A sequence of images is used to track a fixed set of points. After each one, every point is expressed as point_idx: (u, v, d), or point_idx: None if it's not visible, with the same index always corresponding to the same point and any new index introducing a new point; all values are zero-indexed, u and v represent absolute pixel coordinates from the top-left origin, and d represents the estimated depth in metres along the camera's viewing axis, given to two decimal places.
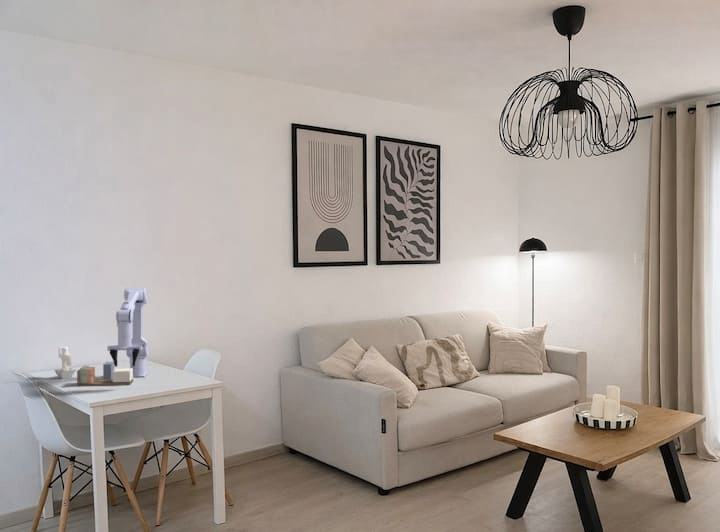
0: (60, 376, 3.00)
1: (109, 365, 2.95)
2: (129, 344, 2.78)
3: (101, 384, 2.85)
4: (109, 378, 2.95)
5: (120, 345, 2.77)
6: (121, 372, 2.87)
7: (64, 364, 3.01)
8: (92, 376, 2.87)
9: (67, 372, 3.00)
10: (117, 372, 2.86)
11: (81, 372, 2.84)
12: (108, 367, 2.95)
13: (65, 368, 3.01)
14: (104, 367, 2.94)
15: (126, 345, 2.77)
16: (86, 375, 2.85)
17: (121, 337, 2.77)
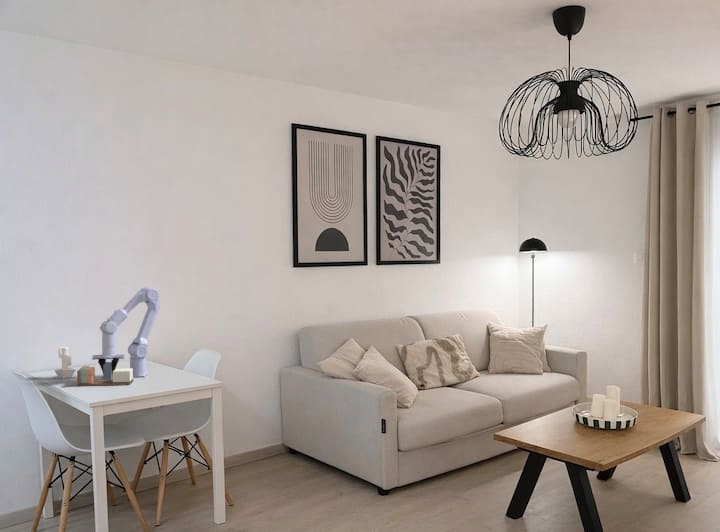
0: (60, 376, 3.00)
1: (109, 365, 2.95)
2: (113, 353, 2.96)
3: (101, 384, 2.85)
4: (109, 378, 2.95)
5: (104, 354, 2.95)
6: (121, 372, 2.87)
7: (64, 364, 3.01)
8: (92, 376, 2.87)
9: (67, 372, 3.00)
10: (117, 372, 2.86)
11: (81, 372, 2.84)
12: (108, 367, 2.95)
13: (65, 368, 3.01)
14: (104, 367, 2.94)
15: (110, 354, 2.95)
16: (86, 375, 2.85)
17: (105, 347, 2.95)
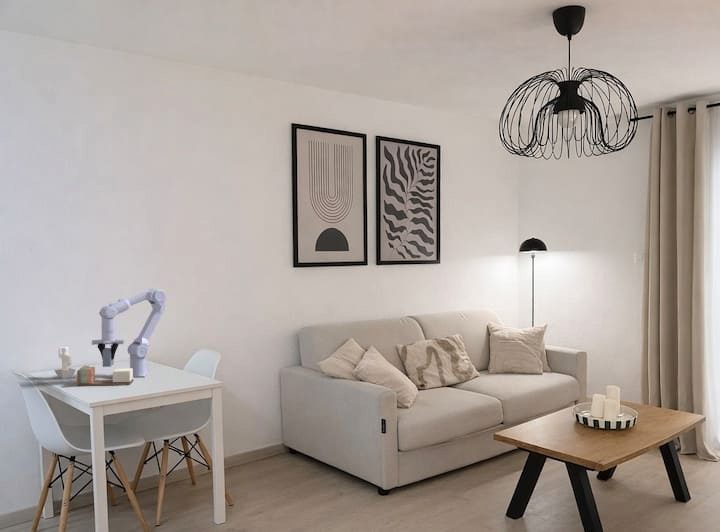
0: (60, 376, 3.00)
1: (108, 351, 2.94)
2: (112, 338, 2.95)
3: (101, 384, 2.85)
4: (108, 364, 2.94)
5: (103, 339, 2.94)
6: (121, 372, 2.87)
7: (64, 364, 3.01)
8: (92, 376, 2.87)
9: (67, 372, 3.00)
10: (117, 372, 2.86)
11: (81, 372, 2.84)
12: (107, 353, 2.94)
13: (65, 368, 3.01)
14: (103, 353, 2.93)
15: (109, 339, 2.94)
16: (86, 375, 2.85)
17: (105, 332, 2.94)
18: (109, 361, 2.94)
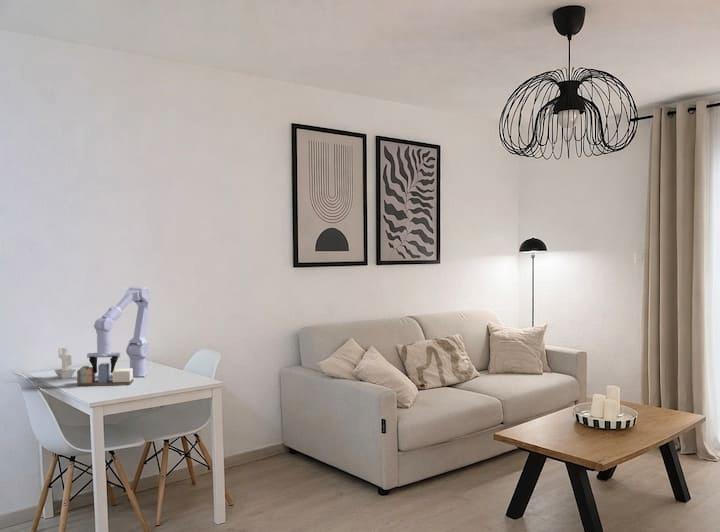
0: (60, 376, 3.00)
1: (104, 366, 2.86)
2: (108, 351, 2.87)
3: (101, 384, 2.85)
4: (104, 380, 2.86)
5: (99, 352, 2.86)
6: (121, 372, 2.87)
7: (64, 364, 3.01)
8: (92, 376, 2.87)
9: (67, 372, 3.00)
10: (117, 372, 2.86)
11: (81, 372, 2.84)
12: (103, 368, 2.86)
13: (65, 368, 3.01)
14: (99, 368, 2.86)
15: (105, 352, 2.86)
16: (86, 375, 2.85)
17: (100, 344, 2.86)
18: (105, 377, 2.86)
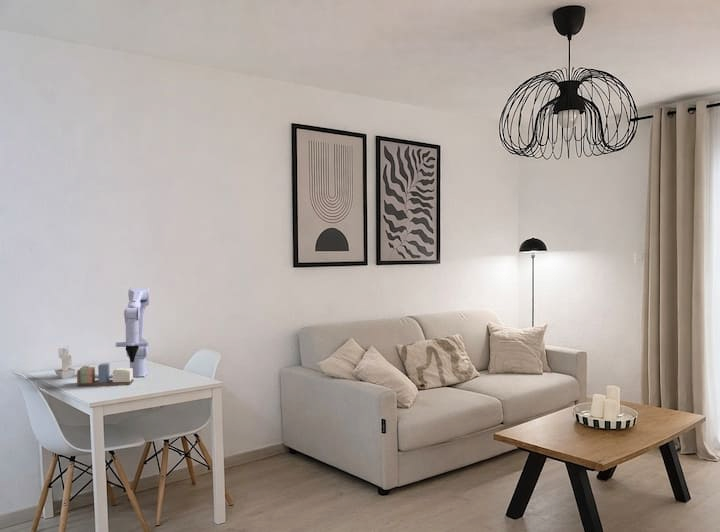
0: (60, 376, 3.00)
1: (104, 366, 2.86)
2: (136, 341, 2.89)
3: (101, 384, 2.85)
4: (104, 380, 2.86)
5: (128, 342, 2.88)
6: (121, 372, 2.87)
7: (64, 364, 3.01)
8: (92, 376, 2.87)
9: (67, 372, 3.00)
10: (117, 372, 2.86)
11: (81, 372, 2.84)
12: (103, 368, 2.86)
13: (65, 368, 3.01)
14: (99, 368, 2.86)
15: (133, 342, 2.88)
16: (86, 375, 2.85)
17: (129, 334, 2.87)
18: (105, 377, 2.86)
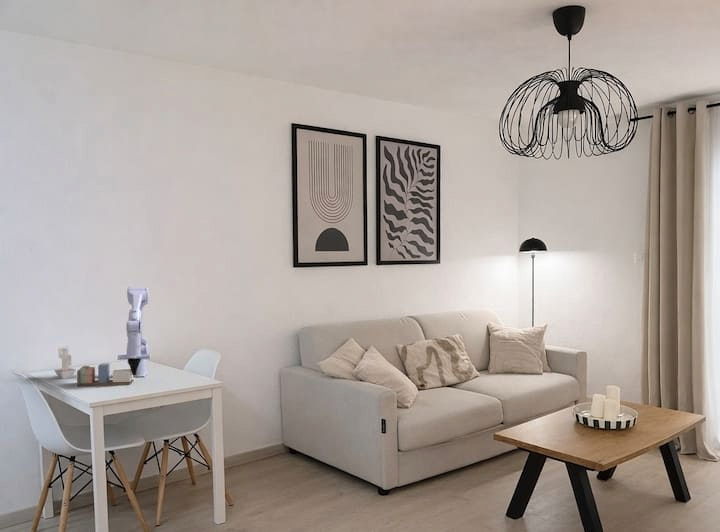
0: (60, 376, 3.00)
1: (104, 366, 2.86)
2: (138, 353, 2.89)
3: (101, 384, 2.85)
4: (104, 380, 2.86)
5: (130, 354, 2.88)
6: (121, 372, 2.87)
7: (64, 364, 3.01)
8: (92, 376, 2.87)
9: (67, 372, 3.00)
10: (117, 372, 2.86)
11: (81, 372, 2.84)
12: (103, 368, 2.86)
13: (65, 368, 3.01)
14: (99, 368, 2.86)
15: (136, 354, 2.88)
16: (86, 375, 2.85)
17: (131, 347, 2.88)
18: (105, 377, 2.86)
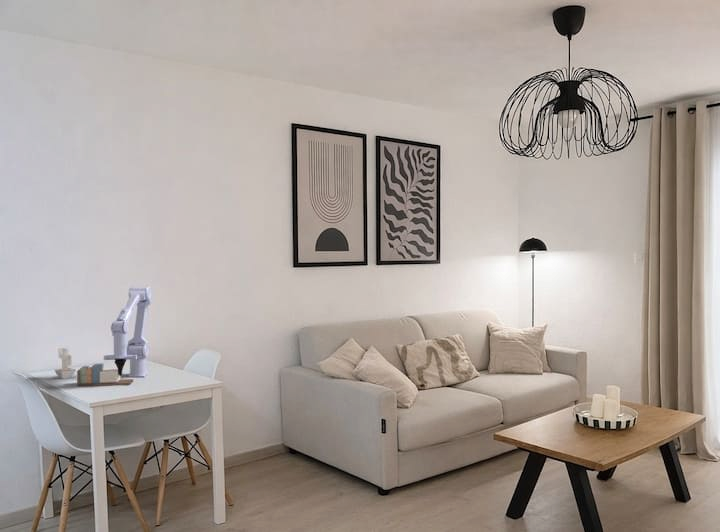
0: (60, 376, 3.00)
1: (98, 367, 2.86)
2: (124, 354, 2.89)
3: (101, 384, 2.85)
4: (98, 380, 2.86)
5: (116, 355, 2.87)
6: (108, 372, 2.86)
7: (64, 364, 3.01)
8: None
9: (67, 372, 3.00)
10: (104, 372, 2.86)
11: (81, 372, 2.84)
12: (97, 369, 2.86)
13: (65, 368, 3.01)
14: (93, 369, 2.85)
15: (122, 355, 2.87)
16: (86, 375, 2.85)
17: (117, 347, 2.87)
18: (99, 377, 2.86)
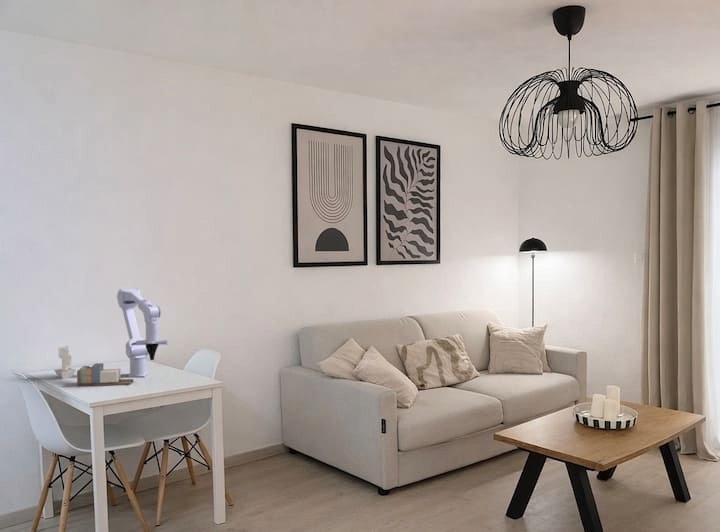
0: (60, 376, 3.00)
1: (98, 367, 2.86)
2: (156, 339, 2.95)
3: (101, 384, 2.85)
4: (98, 380, 2.86)
5: (148, 340, 2.94)
6: (108, 372, 2.86)
7: (64, 364, 3.01)
8: None
9: (67, 372, 3.00)
10: (104, 372, 2.86)
11: (81, 372, 2.84)
12: (97, 369, 2.86)
13: (65, 368, 3.01)
14: (93, 369, 2.85)
15: (153, 340, 2.94)
16: (86, 375, 2.85)
17: (149, 332, 2.94)
18: (99, 377, 2.86)
